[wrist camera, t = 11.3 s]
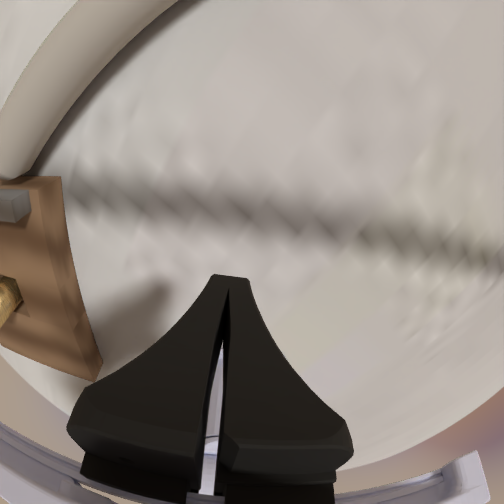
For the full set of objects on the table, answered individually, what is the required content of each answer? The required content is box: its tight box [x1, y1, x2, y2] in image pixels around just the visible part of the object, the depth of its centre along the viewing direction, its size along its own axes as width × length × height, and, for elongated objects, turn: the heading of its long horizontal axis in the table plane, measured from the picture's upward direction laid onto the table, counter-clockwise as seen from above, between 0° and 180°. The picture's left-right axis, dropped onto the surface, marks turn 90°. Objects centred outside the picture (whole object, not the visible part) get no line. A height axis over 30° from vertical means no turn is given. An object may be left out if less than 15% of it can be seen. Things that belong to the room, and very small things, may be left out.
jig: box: [0, 176, 103, 382], centre depth 21 cm, size 22×16×5 cm
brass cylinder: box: [0, 276, 23, 328], centre depth 20 cm, size 3×3×7 cm
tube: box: [0, 0, 178, 180], centre depth 11 cm, size 5×5×25 cm
